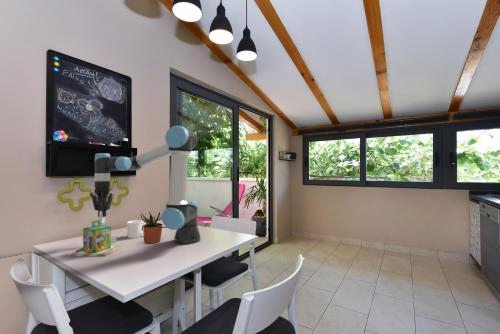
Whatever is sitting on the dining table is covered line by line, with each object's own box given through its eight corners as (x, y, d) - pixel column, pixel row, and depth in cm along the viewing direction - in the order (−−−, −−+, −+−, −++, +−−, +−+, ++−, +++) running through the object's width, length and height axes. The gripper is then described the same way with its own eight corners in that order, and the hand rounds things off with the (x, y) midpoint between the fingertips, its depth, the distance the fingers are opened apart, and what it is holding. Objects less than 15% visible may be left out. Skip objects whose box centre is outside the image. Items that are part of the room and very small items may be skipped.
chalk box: (94, 253, 121) (94, 223, 121) (82, 251, 124) (82, 221, 124) (111, 247, 129) (111, 219, 129) (99, 245, 133) (99, 218, 133)
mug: (123, 238, 151) (123, 223, 151) (133, 234, 160) (133, 219, 160) (142, 238, 149) (142, 223, 149) (150, 234, 158) (150, 220, 158)
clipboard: (121, 247, 133) (121, 245, 133) (106, 256, 120) (106, 253, 120) (88, 247, 133) (88, 244, 133) (69, 256, 120) (69, 253, 120)
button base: (116, 241, 144) (116, 236, 144) (105, 247, 134) (105, 241, 134) (99, 241, 144) (99, 236, 144) (87, 246, 134) (87, 241, 134)
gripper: (117, 180, 143) (117, 221, 143) (95, 180, 143) (95, 221, 143) (109, 181, 135) (109, 224, 135) (86, 181, 136) (86, 223, 136)
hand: (102, 222), depth 139 cm, fingers closed
